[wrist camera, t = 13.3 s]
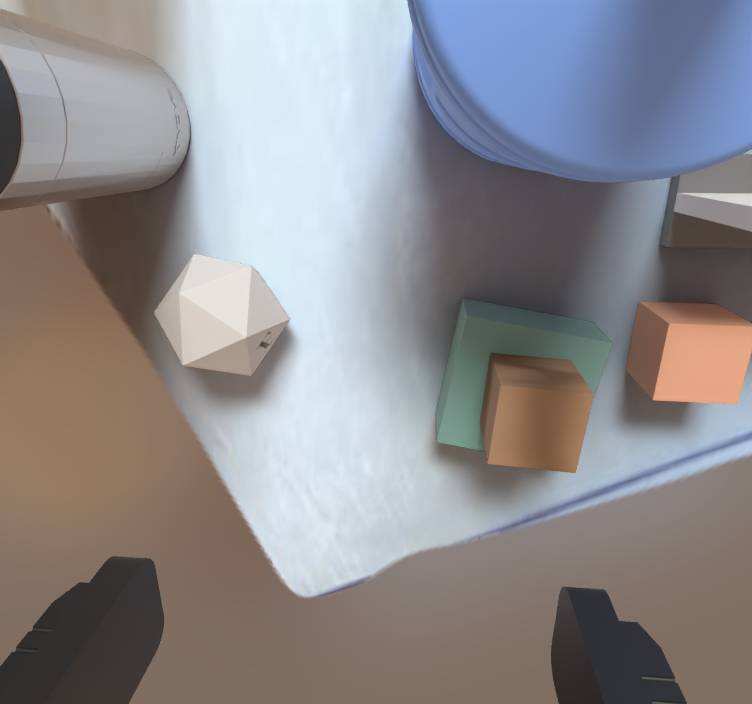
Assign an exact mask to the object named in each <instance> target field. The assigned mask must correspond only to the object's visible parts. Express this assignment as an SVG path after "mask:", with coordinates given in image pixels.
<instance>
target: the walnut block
mask: <svg viewBox="0 0 752 704" xmlns="http://www.w3.org/2000/svg"><path fill="white" fill-rule="evenodd" d="M593 397H594V393H593V392H592V390H591V389H590V387H589V386H588V384H587V383H586V381H585V380H584V379H583V377H582V376H581V374H580V373H579V371H578V370H577V368H576V367H575V365H574V364H573V362H572V361H571V360H566V359H555V358H544V357H534V356H523V355H512V354H501V353H490V359H489V365H488V372H487V378H486V385H485V391H484V398H483V404H482V411H481V417H480V427H481V432H482V437H483V442H484V447H485V453H486V458H487V463H488V464H494V465H503V466H513V467H523V468H532V469H542V470H551V471H561V472H571V473H576V469H577V465H578V461H579V456H580V452H581V448H582V444H583V439H584V435H585V431H586V427H587V422H588V418H589V414H590V410H591V406H592V401H593Z"/></svg>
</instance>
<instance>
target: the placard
mask: <svg viewBox="0 0 752 704" xmlns="http://www.w3.org/2000/svg"><path fill="white" fill-rule="evenodd" d="M660 245H663V246H665V247H691V248H752V155H744V154H741V155H739V156H736V157H734V158H732V159H729V160H727V161H725V162H722V163H719V164H717V165H714V166H711V167H708V168H705V169H702V170H698V171H695V172H691V173H687V174H683V175H679V176H674V177H672V181H671V187H670V192H669V197H668V203H667V208H666V213H665V219H664V224H663V229H662V235H661V240H660Z"/></svg>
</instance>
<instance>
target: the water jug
mask: <svg viewBox="0 0 752 704" xmlns="http://www.w3.org/2000/svg"><path fill="white" fill-rule="evenodd" d="M407 1H408V7H409V12H410V17H411V21H412V25H413V51H414V60H415V66H416V71H417V76H418V80H419V83H420V86H421V89H422V92H423V94H424V97H425V99H426V101H427V103H428V105H429V108H430V110H431V112H432V113H433V114H434V116H435V118H436V119H437V121H439V123H440V124H441V126H442V127H443V128H444V129H445V131H446V132H447V133H448V134H449V135H450V136H452V137H453V138H454V139H455V141H457V142H458V143H459V144H460V145H462V146H463V147H464V148H466V149H467V150H469V151H470V152H473V153H474V154H476V155H477V156H479V157H482V158H485V159H487V160H490V161H493V162H496V163H500V164H504V165H509V166H515V167H518V168H522V169H527V170H532V171H538V172H544V173H547V174H551V175H555V176H559V177H564V178H568V179H574V180H580V181H588V182H602V183H617V182H633V181H644V180H655V179H662V178H668V177H674V176H679V175H683V174H687V173H691V172H695V171H698V170H702V169H705V168H708V167H711V166H714V165H717V164H719V163H722V162H725V161H727V160H729V159H732V158H734V157H736V156H739V155H741V154H743V153H745V152H747V151H749V150H751V149H752V0H407Z"/></svg>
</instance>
